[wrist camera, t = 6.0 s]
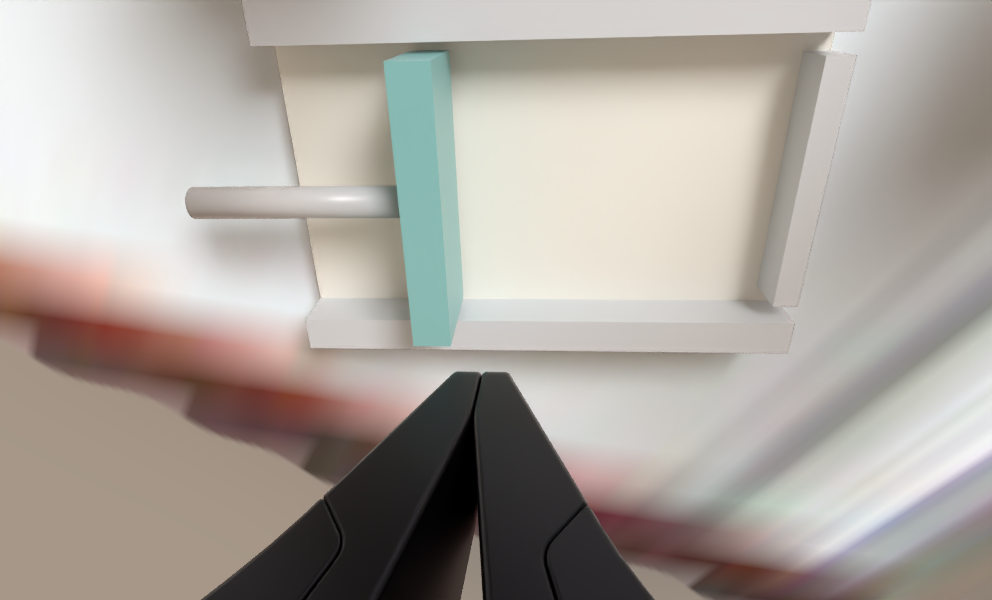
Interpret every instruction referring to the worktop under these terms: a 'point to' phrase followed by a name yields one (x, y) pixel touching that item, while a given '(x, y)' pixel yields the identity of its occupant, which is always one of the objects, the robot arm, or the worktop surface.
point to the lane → (577, 164)
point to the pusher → (389, 193)
